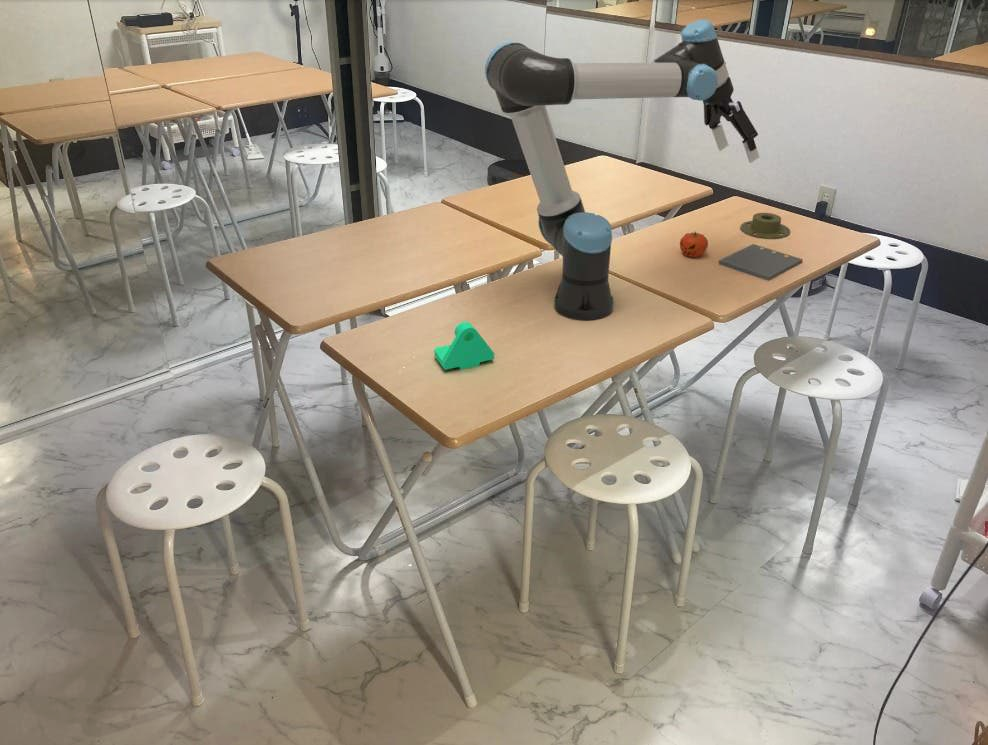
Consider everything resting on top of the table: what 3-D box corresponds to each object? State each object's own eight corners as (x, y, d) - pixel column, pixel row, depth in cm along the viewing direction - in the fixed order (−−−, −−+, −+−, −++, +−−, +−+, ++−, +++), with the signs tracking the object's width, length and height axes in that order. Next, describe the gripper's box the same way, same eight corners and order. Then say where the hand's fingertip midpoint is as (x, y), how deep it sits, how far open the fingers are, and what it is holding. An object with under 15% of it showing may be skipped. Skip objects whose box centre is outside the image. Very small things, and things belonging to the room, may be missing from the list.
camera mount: (481, 347, 188) (481, 308, 182) (494, 363, 182) (494, 323, 176) (433, 358, 184) (431, 318, 178) (444, 373, 178) (442, 333, 172)
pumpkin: (688, 247, 239) (691, 224, 235) (711, 255, 234) (714, 231, 230) (673, 254, 234) (676, 230, 231) (696, 262, 229) (699, 238, 226)
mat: (768, 280, 218) (769, 275, 218) (718, 263, 228) (719, 259, 228) (802, 262, 229) (802, 257, 228) (752, 247, 239) (753, 242, 238)
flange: (775, 229, 239) (801, 217, 248) (732, 217, 249) (759, 205, 257) (773, 244, 242) (798, 231, 250) (730, 231, 251) (756, 219, 260)
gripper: (757, 81, 189) (780, 156, 201) (699, 67, 209) (722, 135, 222) (731, 99, 189) (756, 173, 201) (676, 83, 209) (701, 150, 221)
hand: (738, 153), depth 211 cm, fingers open, 13 cm apart
